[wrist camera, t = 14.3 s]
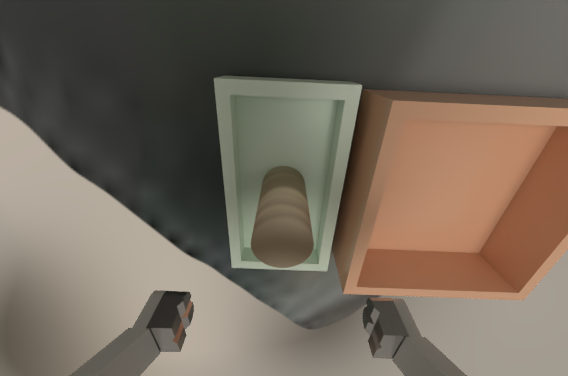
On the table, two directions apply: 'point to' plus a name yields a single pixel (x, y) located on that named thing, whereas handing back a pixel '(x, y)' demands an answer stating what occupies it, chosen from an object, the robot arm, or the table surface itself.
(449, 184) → the orange hollow square box
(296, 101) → the green tray
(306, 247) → the birch cylinder
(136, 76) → the table surface
